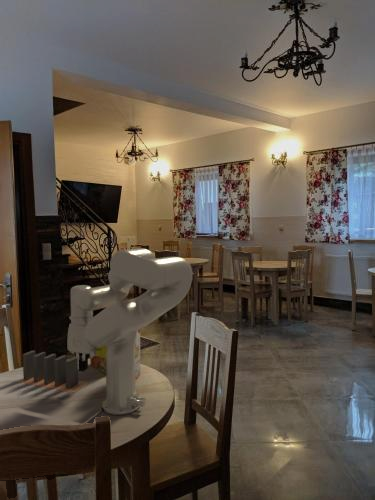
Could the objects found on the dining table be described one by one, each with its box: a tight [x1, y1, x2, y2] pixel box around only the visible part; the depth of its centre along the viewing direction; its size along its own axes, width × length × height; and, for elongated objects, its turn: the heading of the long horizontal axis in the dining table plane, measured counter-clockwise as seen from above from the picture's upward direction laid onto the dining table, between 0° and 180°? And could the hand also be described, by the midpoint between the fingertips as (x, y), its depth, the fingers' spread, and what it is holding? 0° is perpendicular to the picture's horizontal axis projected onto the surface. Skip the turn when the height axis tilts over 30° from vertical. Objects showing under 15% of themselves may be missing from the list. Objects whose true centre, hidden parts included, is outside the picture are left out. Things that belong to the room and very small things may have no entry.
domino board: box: [17, 377, 89, 394], centre depth 144 cm, size 26×9×1 cm, turn 68°
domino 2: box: [33, 351, 47, 383], centre depth 146 cm, size 2×5×10 cm, turn 158°
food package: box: [89, 346, 108, 374], centre depth 156 cm, size 15×1×20 cm, turn 42°
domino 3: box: [43, 353, 57, 385], centre depth 144 cm, size 2×5×10 cm, turn 158°
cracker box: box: [135, 329, 141, 382], centre depth 144 cm, size 14×6×21 cm, turn 168°
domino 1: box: [22, 350, 37, 381], centre depth 148 cm, size 2×5×10 cm, turn 158°
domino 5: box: [65, 356, 79, 389], centre depth 140 cm, size 2×5×10 cm, turn 158°
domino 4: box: [54, 354, 68, 387], centre depth 142 cm, size 2×5×10 cm, turn 158°
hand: (83, 370), depth 138 cm, fingers closed
